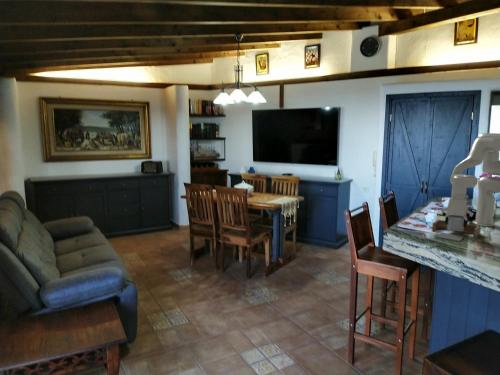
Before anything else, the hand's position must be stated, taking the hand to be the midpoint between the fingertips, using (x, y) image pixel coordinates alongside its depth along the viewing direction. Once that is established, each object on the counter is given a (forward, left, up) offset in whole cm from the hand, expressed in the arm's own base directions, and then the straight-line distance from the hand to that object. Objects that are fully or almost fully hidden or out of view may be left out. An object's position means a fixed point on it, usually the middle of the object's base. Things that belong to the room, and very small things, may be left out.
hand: (455, 224), depth 227 cm
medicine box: (0, 0, -4) cm, 4 cm away
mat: (+12, 0, -5) cm, 13 cm away
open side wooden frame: (0, 0, -5) cm, 5 cm away
